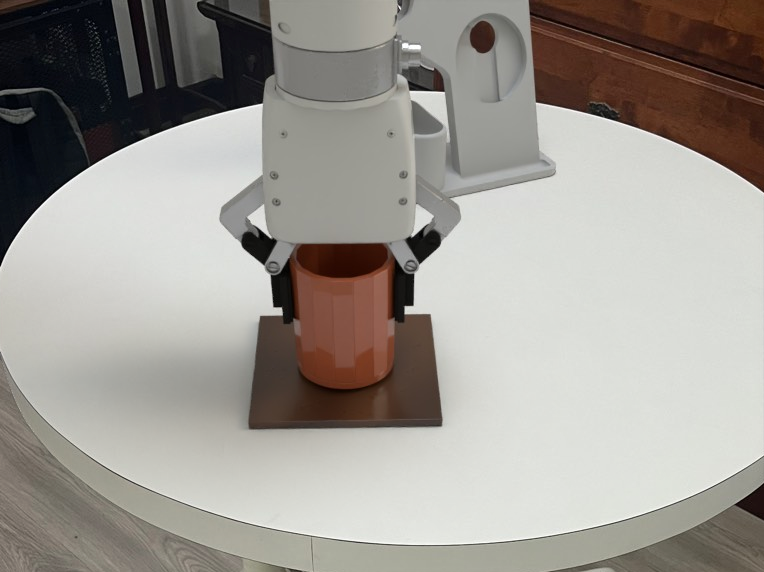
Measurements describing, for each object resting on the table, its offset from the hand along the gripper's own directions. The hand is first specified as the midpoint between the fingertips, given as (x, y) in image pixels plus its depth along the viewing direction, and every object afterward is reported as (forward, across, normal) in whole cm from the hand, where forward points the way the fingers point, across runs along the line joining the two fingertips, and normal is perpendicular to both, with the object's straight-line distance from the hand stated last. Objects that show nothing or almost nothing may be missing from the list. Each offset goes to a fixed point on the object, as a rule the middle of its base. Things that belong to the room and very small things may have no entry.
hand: (344, 312), depth 73 cm
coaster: (+5, 0, 0) cm, 5 cm away
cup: (+4, 0, 0) cm, 4 cm away
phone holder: (+5, -12, -35) cm, 37 cm away
